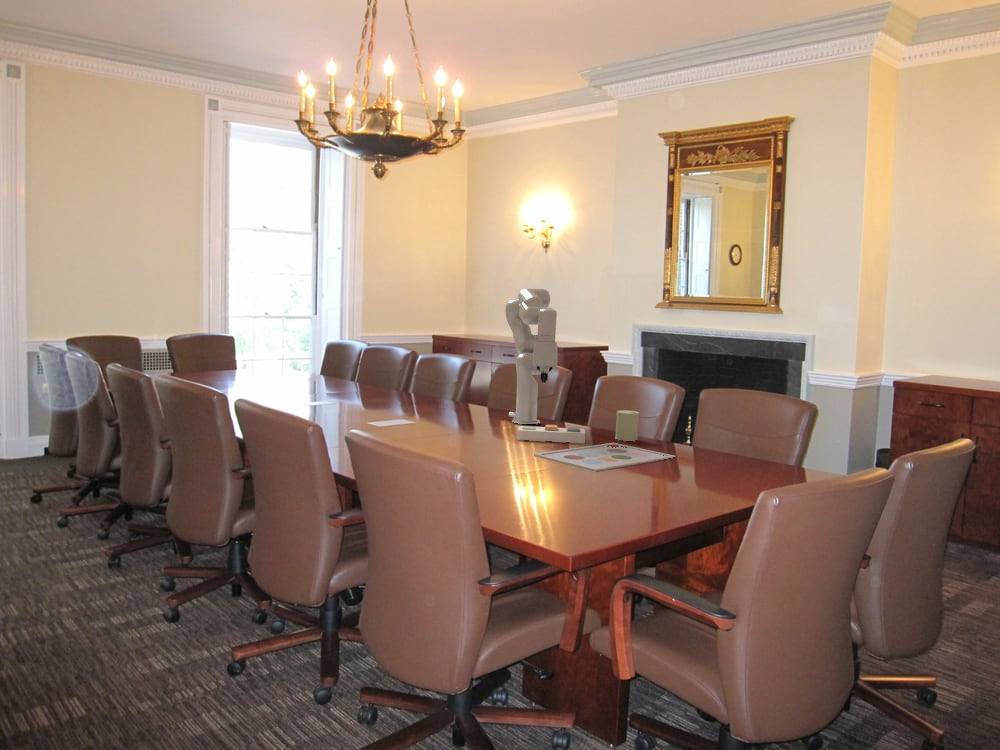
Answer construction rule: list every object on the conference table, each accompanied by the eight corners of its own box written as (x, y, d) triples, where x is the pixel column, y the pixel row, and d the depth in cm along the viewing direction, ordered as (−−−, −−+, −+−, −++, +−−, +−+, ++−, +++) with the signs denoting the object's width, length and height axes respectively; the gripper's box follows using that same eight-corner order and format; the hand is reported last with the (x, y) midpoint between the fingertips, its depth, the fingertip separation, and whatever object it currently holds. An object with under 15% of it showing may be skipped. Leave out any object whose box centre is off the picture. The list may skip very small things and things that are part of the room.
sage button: (522, 436, 337) (523, 428, 337) (523, 434, 342) (523, 426, 342) (534, 437, 337) (534, 428, 337) (535, 435, 342) (535, 426, 341)
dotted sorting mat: (533, 453, 305) (613, 442, 333) (533, 457, 305) (613, 445, 333) (595, 469, 282) (675, 455, 310) (595, 473, 282) (675, 459, 310)
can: (631, 442, 338) (633, 413, 337) (611, 439, 343) (612, 410, 342) (641, 439, 346) (642, 410, 345) (621, 436, 351) (622, 408, 350)
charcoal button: (567, 438, 336) (567, 430, 336) (567, 436, 341) (567, 428, 341) (579, 439, 336) (579, 430, 335) (579, 437, 341) (579, 428, 340)
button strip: (517, 440, 335) (517, 430, 334) (518, 435, 345) (518, 425, 345) (584, 443, 333) (585, 433, 332) (584, 438, 344) (584, 428, 343)
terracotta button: (545, 435, 337) (545, 426, 336) (545, 433, 341) (545, 424, 341) (557, 435, 336) (557, 427, 336) (557, 433, 341) (557, 425, 341)
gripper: (527, 338, 346) (525, 382, 349) (563, 340, 344) (561, 384, 347) (529, 336, 353) (526, 379, 356) (564, 338, 352) (561, 381, 355)
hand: (543, 382), depth 352 cm, fingers closed
